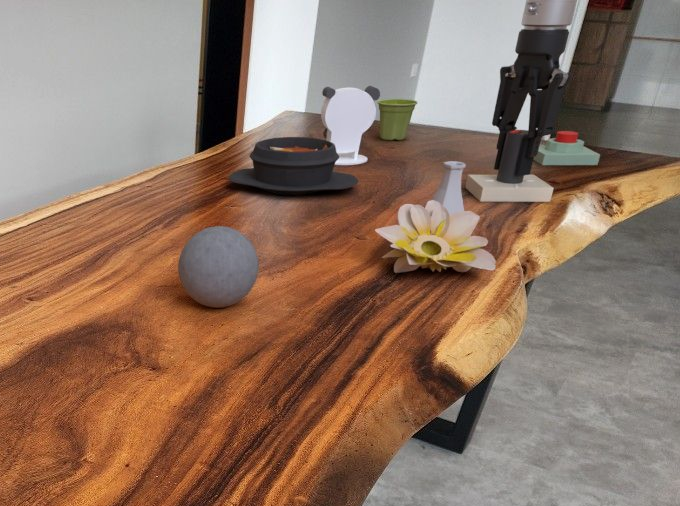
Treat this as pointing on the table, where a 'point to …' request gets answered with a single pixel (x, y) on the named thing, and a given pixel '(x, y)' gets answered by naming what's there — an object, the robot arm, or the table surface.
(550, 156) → the button housing
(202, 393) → the table surface
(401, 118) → the plant pot
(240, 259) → the decorative ball
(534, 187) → the dial panel
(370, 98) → the panda figurine
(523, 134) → the dial
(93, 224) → the table surface
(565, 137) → the push knob
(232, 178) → the casserole
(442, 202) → the flask
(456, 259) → the decorative flower
